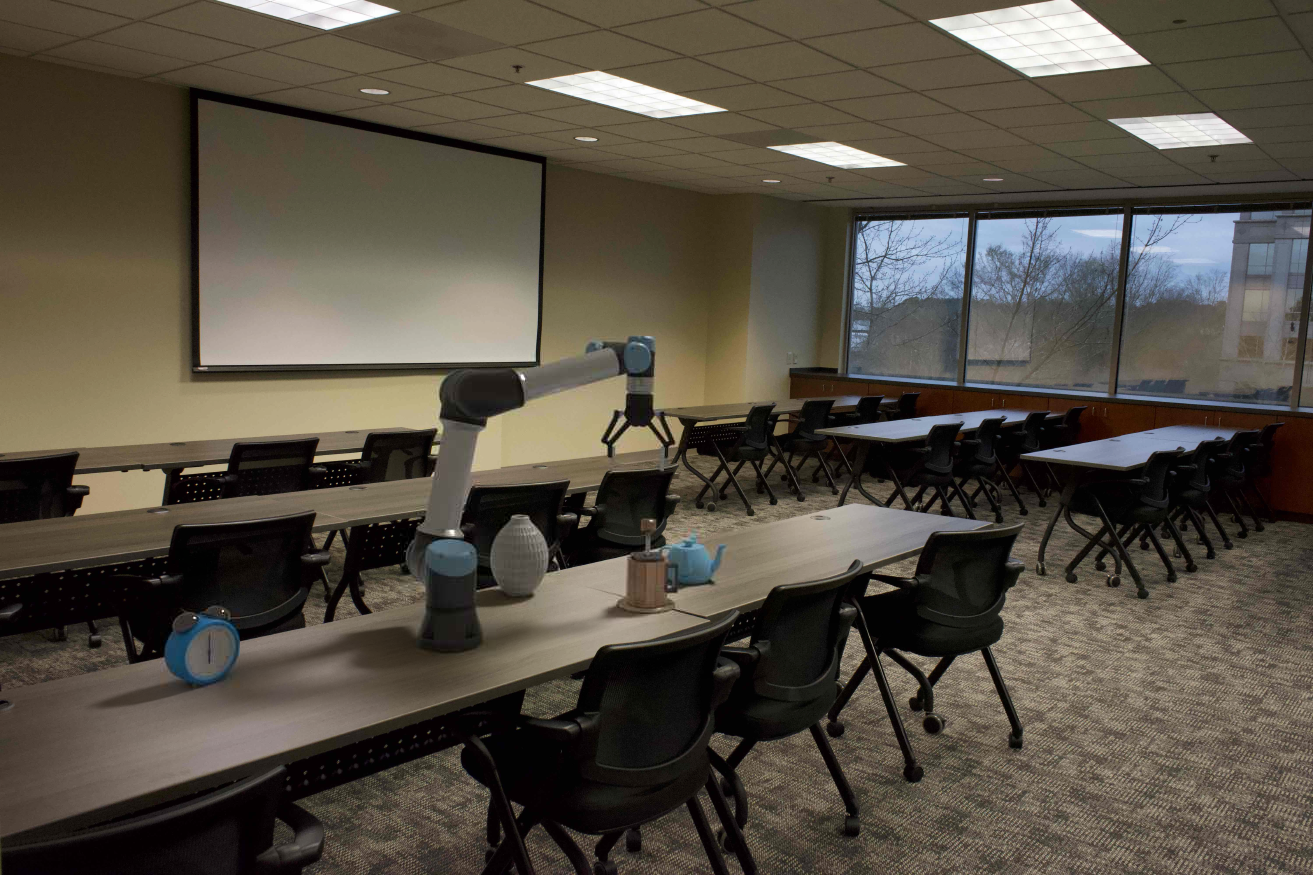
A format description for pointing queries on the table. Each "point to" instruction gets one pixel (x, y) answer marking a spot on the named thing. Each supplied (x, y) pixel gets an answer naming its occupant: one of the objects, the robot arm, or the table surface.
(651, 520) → the plunger
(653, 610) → the press
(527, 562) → the vase
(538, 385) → the robot arm
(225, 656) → the alarm clock
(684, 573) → the teapot
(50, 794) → the table surface
